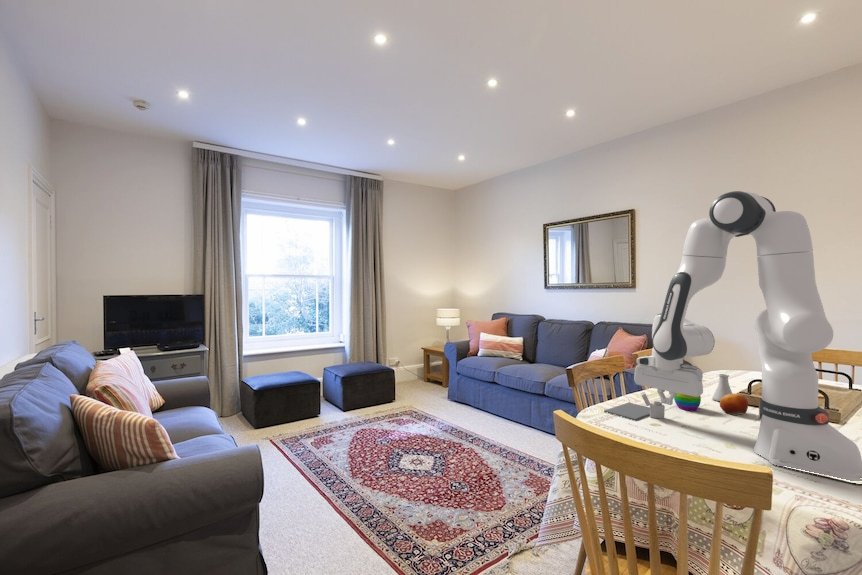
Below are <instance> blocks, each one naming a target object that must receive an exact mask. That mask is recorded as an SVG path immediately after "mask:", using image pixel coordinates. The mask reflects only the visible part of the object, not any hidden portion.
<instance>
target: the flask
mask: <svg viewBox="0 0 862 575" xmlns="http://www.w3.org/2000/svg"><path fill="white" fill-rule="evenodd" d="M718 377H719V378H718V379H719V380H718V385H717V387H716V389H715V392H714V394H713V396H712V398H711V400H712V399H713V400H712V401H715V400H716V402H718V401H720V400H721V398H722V397H723V396H725V395H728V394H733V392H732V389H731V387H730V383H729V377H730V374H725V373H720V374H718Z"/></svg>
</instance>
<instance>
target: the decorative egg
mask: <svg viewBox="0 0 862 575" xmlns="http://www.w3.org/2000/svg"><path fill="white" fill-rule="evenodd" d="M701 399H702V397H701V395H700V396H697V397H694V396H690V395H685V394H680V393H677V395H676V396H675V397H674V399H673V401H674V402H675V406H676V407H677V408H679V409H680V408H681V410H683V411H696V410H697V409H698V408H699V407H700V406H701V401H702V400H701Z"/></svg>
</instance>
